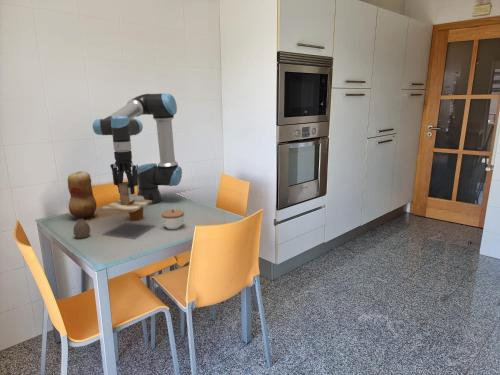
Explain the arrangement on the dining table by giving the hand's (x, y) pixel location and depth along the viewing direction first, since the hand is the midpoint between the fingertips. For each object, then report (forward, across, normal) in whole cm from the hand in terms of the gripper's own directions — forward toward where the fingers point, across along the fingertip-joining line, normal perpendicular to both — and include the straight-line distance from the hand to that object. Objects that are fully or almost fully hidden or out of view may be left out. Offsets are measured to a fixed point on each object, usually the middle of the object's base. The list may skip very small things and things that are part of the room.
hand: (127, 200), depth 169 cm
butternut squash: (+16, -36, +11) cm, 41 cm away
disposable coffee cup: (+16, -7, +16) cm, 23 cm away
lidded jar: (+16, +18, +10) cm, 26 cm away
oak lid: (+3, 0, 0) cm, 3 cm away
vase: (+16, -16, -13) cm, 26 cm away
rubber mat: (+15, 0, 0) cm, 15 cm away
